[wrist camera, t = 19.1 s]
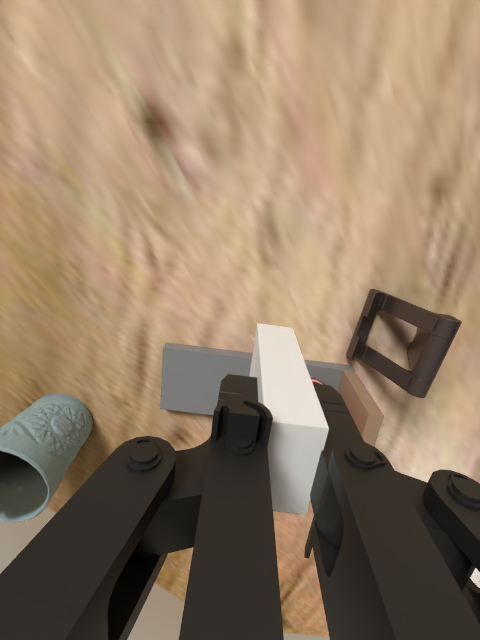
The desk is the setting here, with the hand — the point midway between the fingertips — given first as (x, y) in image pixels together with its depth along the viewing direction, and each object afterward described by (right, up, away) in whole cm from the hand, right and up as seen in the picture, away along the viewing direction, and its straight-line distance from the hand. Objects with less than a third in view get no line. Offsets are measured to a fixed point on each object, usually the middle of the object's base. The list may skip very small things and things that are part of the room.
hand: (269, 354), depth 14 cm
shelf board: (+1, -7, +28) cm, 29 cm away
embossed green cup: (-26, -12, +31) cm, 43 cm away
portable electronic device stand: (+17, +1, +26) cm, 31 cm away
